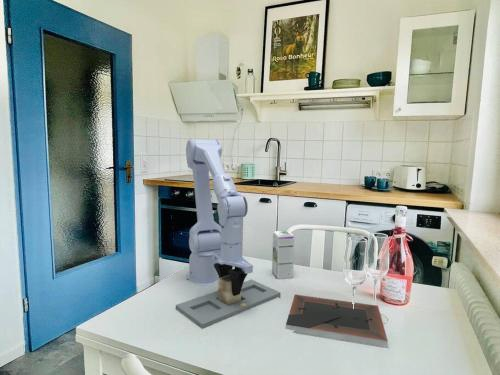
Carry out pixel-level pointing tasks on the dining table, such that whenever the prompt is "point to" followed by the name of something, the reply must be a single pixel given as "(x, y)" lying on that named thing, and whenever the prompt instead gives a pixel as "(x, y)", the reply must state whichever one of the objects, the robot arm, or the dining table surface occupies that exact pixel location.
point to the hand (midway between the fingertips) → (230, 291)
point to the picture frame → (337, 320)
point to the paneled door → (214, 311)
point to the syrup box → (283, 254)
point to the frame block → (226, 291)
